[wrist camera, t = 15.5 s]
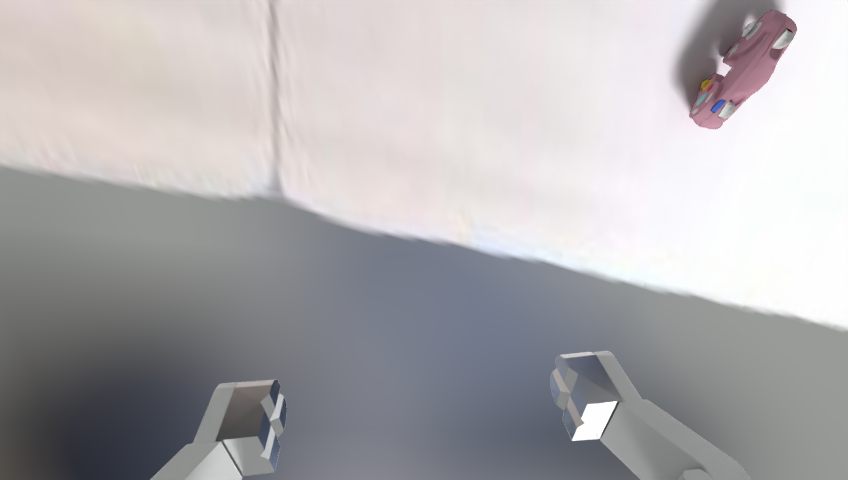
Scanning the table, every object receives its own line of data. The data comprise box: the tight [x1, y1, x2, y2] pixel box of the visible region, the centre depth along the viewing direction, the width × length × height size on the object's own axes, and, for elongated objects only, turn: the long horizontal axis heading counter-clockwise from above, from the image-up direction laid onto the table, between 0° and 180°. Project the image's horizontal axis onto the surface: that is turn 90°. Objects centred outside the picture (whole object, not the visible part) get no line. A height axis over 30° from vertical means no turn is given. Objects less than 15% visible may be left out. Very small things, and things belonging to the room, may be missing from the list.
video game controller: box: [689, 10, 797, 129], centre depth 34 cm, size 10×5×7 cm, turn 158°
